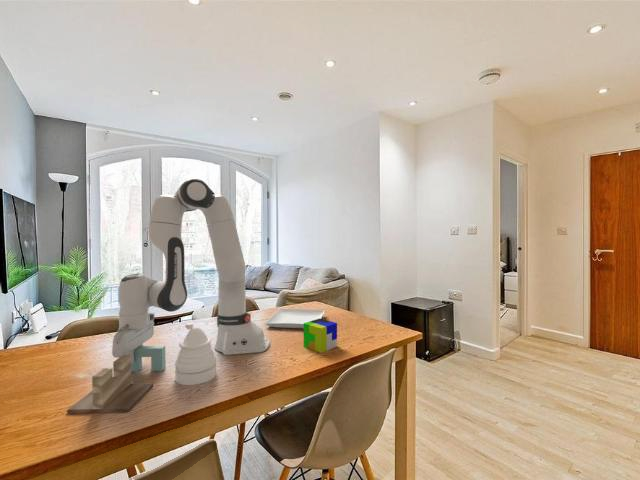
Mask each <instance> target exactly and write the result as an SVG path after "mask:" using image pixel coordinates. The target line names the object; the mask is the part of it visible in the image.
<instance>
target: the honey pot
mask: <svg viewBox="0 0 640 480" xmlns="http://www.w3.org/2000/svg"><path fill="white" fill-rule="evenodd" d="M185 328H186V329H187V330H189V331H188V332H187V334H186V336H185V337H184V339H182V340H181V341H179V343H178V346H179V348H180V351H178V355H177V359H176V361H175V364H174V365H175V374H174V375H175V376H174V377H175V381H176V383H178V384H180V385H184V386H191V385H199V384H204V383H206V382H208V381H211V380H212V379H214V378H215V376H216V375H217V357H216V355H215V352H214V348H213V347H212V345H211V343H212V340H211V338H210V337H208V336H207V334H206V333H205V331H204V330H203V329H202V328H201V327H199V326H194V322H186V323H185ZM203 382H204V383H203Z"/></svg>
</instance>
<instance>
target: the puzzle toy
mask: <svg viewBox="0 0 640 480" xmlns="http://www.w3.org/2000/svg"><path fill="white" fill-rule="evenodd" d="M337 347H338V323H337V322H334V321H332V320H328V319H324V318H321V319H320V318H319V319H316V320H313V321H309V322H306V323H304V329H303V348H306V349H309V350H312V351H314V352H317V353H320V354H322V353H324V351H325V352H326V351H329V350H331V349H334V348H337Z"/></svg>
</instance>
